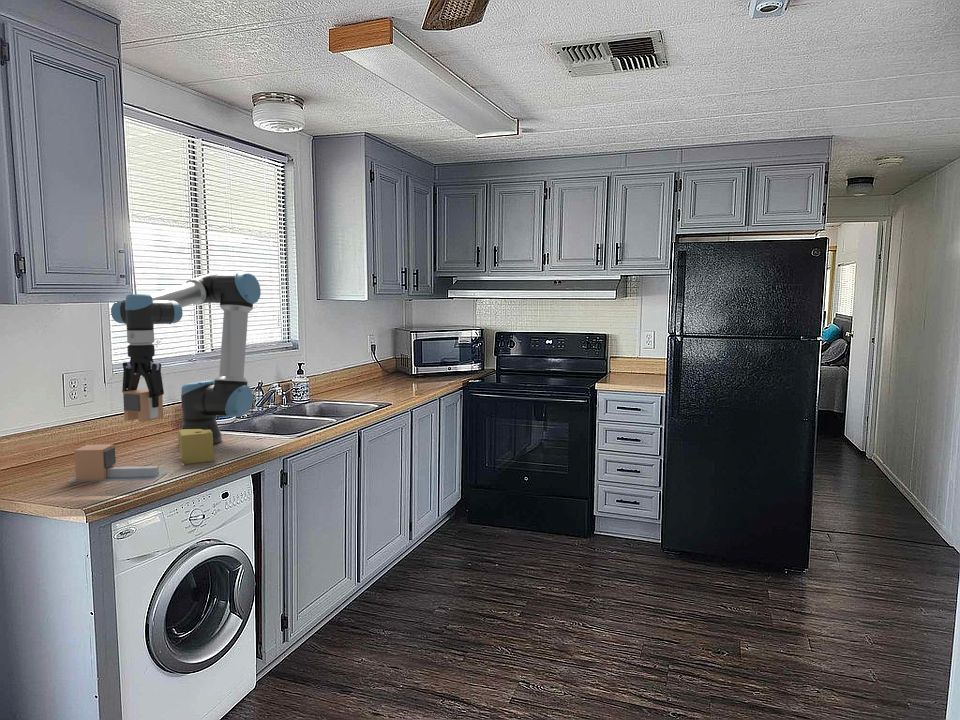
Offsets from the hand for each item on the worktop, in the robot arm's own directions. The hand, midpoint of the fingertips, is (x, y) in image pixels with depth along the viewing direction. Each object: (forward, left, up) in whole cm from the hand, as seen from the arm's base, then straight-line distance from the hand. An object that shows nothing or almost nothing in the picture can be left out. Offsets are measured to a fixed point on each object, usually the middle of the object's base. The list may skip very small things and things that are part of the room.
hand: (144, 416), depth 212 cm
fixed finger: (+8, -12, -17) cm, 22 cm away
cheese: (-15, +10, -18) cm, 26 cm away
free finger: (0, 0, -1) cm, 1 cm away
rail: (+8, -5, -18) cm, 20 cm away
